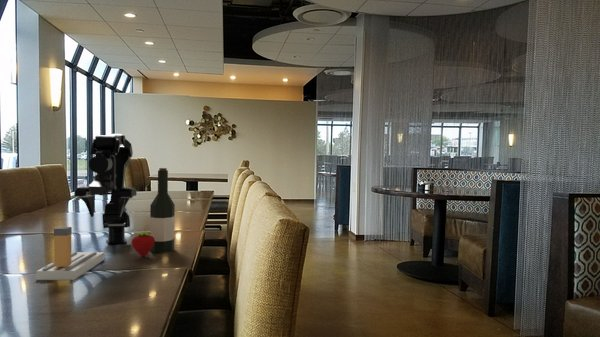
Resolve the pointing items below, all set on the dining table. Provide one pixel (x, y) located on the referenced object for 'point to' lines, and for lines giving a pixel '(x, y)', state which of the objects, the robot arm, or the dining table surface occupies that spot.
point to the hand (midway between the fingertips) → (106, 216)
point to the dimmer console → (71, 267)
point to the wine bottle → (162, 216)
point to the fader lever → (62, 246)
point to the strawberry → (143, 243)
